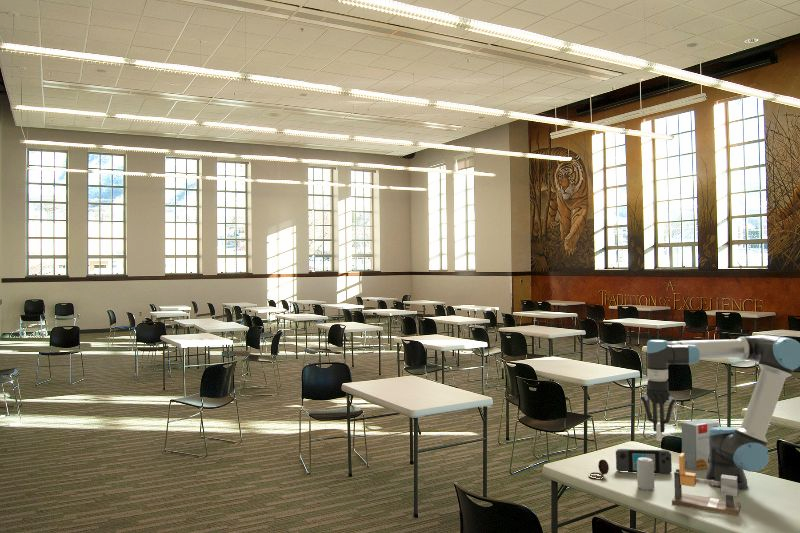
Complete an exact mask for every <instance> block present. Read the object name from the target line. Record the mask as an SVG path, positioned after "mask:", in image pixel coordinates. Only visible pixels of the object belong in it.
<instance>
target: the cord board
mask: <svg viewBox="0 0 800 533" xmlns="http://www.w3.org/2000/svg"><path fill="white" fill-rule="evenodd" d="M673 477H674V478H673V482H674V484H673V485H674V496H673V498H672V500H671V505H673V506H679V507H684V508H689V509H690V508H691V509H694V510H695V509H696V510H701V511H707V512H714V513H717V514H725V515H730V516H735V517H738V516H739V514H740V512H741V511H740V510H741V502H737V501H735V498H734V497H738V494H739V491H738V490H739V489H738V485H737V477H736V476H729V475H722V476H721V482H719V481H714V480H706V478H698V477H696V478H695V482H696V484H704V485H709V486H712V487H715V486H714V485H716V486H721V488H720V490H721V491H720V493H721V495H724V496H725V499H720V498H716V497H707V496H701V495H695V494H688V493H684V492H683V491H682V489H683V488H682V485H680V472H679V468H676V469H675V471H674V472H673Z"/></svg>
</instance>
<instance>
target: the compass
mask: <svg viewBox="0 0 800 533" xmlns="http://www.w3.org/2000/svg"><path fill="white" fill-rule="evenodd" d="M597 466H598V471H599V472H596V471H595V472H590V473H589V474H590V476H592V477H596V478H600V479H599V480H602V479H601V478H602V477H604V476H605V475H607V474H608V473H609V471H610V468H609V467H610V466H609V463H608V461H607V460H605V459H600V460H599V461H598V465H597ZM591 474H599V475H601V476H597V475H591ZM604 478H605V477H604Z"/></svg>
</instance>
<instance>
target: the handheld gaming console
mask: <svg viewBox="0 0 800 533" xmlns="http://www.w3.org/2000/svg"><path fill="white" fill-rule="evenodd" d="M640 457H646V458H651V459H652V460H653V463H654V473H660V475H670V474H671V473H672V472H673V471H672V454H671V452H670V451H669V450H666V449H631V448H630V449H628V448H620V449H617V450H615V469H616V471H617V472H618V471H628V472H637V460H638V458H640Z"/></svg>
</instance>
